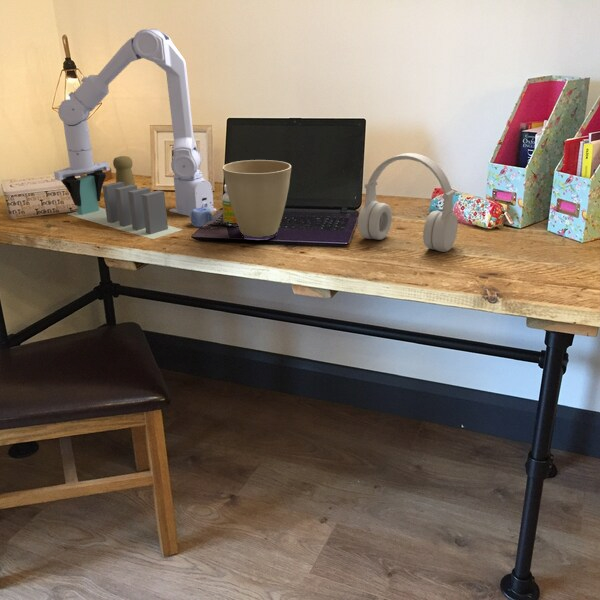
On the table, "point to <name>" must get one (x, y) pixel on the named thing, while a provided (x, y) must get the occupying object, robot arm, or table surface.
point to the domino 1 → (88, 195)
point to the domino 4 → (137, 207)
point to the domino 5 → (154, 212)
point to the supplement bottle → (227, 208)
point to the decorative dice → (201, 216)
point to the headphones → (437, 225)
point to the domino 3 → (124, 204)
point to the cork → (124, 170)
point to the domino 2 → (111, 201)
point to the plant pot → (257, 194)
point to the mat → (101, 218)
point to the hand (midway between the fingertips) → (87, 203)
